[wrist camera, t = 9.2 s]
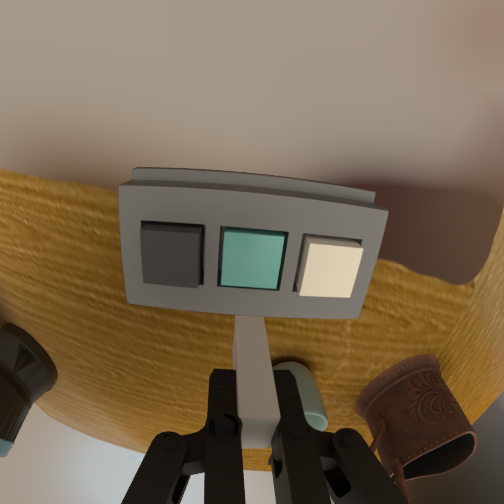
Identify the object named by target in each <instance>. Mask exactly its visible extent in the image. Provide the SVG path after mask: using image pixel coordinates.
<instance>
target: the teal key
mask: <svg viewBox="0 0 504 504" xmlns="http://www.w3.org/2000/svg"><path fill="white" fill-rule="evenodd" d="M283 244H284V235H283V232H282V231H276V230H265V229H253V228H242V227H230V226H226V227H225V233H224V247H223V262H222V278H221V285H230V286H243V287H257V288H272V289H276V287H277V281H278V275H279V269H280V263H281V256H282V250H283Z"/></svg>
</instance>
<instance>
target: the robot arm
mask: <svg viewBox="0 0 504 504" xmlns="http://www.w3.org/2000/svg"><path fill="white" fill-rule="evenodd" d="M232 354H233V370H232V369H214V370H213V372H212V373H211V375H210V378H209V395H208V413H207V420H206V423H205V426H204V427H203V428H202V429H201V430H200V431H198V432H196V433H192V434H187V435H180V434H178V433H176V432H170V431H167V432H162V433H160V434H158V435H156V437H155V438H154V439H153V441H152V443H151V445H150V447H149V449H148V451H147V453H146V455H145V457H144V459H143V461H142V463H141V465H140V467H139V469H138V471H137V473H136V475H135V477H134V479H133V481H132V483H131V485H130V487H129V489H128V491H127V493H126V495H125V497H124V499H123V501H122V503H121V504H180V502H181V500H182V497H183V495H184V492H185V489H186V486H187V484H188V481H189V478H190V476H191V475H193V474H198V473H203V472H205V480H204V504H245V490H244V474H243V459H242V448H269V447H270V445H271V446H272V454H271V456H270V458H269V461H268V465H271V466H272V474H273V482H274V490H275V497H276V504H331V500H330V496H331V498H332V500H333V502H334V503H335V504H409V503H408V501H407V500H406V498H405V497H404V496H403V494H402V493H401V491H400V490H399V489H398V487H397V486H396V484H395V483H394V482H393V480H392V479H391V477H390V476H389V474H388V473H387V472H386V470H385V469H384V467H383V466H382V465H381V463H380V462H379V460H378V459H377V457H376V456H375V455H374V453H373V452H372V450H371V449H370V447H369V446H368V445H367V443H366V442H365V440H364V439H363V437H362V436H361V435H360V434H359V433H358V432H357V431H356V430H354V429H351V428H343V429H340V430H338V431H336V432H335V433H331V432H324V431H320V430H317V429H315V428H313V427H312V426H310V425H309V424H308V422H307V420H306V418H305V414H304V410H303V406H302V402H301V398H300V394H299V390H298V387H297V382H296V378H295V376H294V375H293V374H292V372H291V371H290V370H272V365H271V359H270V353H269V347H268V341H267V336H266V330H265V324H264V318H263V317H260V316H239V315H236V317H235V328H234V340H233V351H232ZM56 380H57V372H56V369H55V366H54V364H53V363H52V361H51V359H50V358H49V356H48V355H47V354H46V352H45V351H44V350H43V349H42V347H41V346H40V345H39V344H38V343H37V342H36V341H35V340H34V339H33V338H32V337H31V336H30V335H28V334H27V333H26V332H25V331H23V330H22V329H20V328H18V327H17V326H15V325H12V324H4V325H3V326H2V327H1V328H0V457H5V456H7V454H8V452H9V451H10V449H11V447H12V446H13V445H14V441H15V439H16V437H17V434H18V432H19V430H20V428H21V426H22V424H23V422H24V420H25V418H26V416H27V414H28V412H29V410H30V408H31V406H32V404H33V403H34V402H35V401H36V400H38V399H39V398H40V397H41V396H42V395H43V394H44V393H45V392H47V391H49V390H51V389H52V387H53V386H54V384H55V382H56ZM329 495H330V496H329Z"/></svg>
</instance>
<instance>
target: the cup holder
mask: <svg viewBox="0 0 504 504" xmlns="http://www.w3.org/2000/svg"><path fill="white" fill-rule="evenodd" d="M355 411H356V413H357V414H358V415H359V416H361V417H363V418H364V420H365V421H366V422H367V423H368V426H369V428H370V431H371V434H372V436H373V439H374V440H373V442H372V444H371V446H370V449H371V450H372V452H373V453H374V452H375V450H376V448H377V450H378V453H379V456H380V459H381V462H382V465H383V467H384V469H385V470H386V472H387V473H388V474H389V476H390V477H391V479H392V480H393V482H394V483H395V484H396V486H397V487H398V489H399V490H400V491H401V493H402V494H403V496H404V497H405V498H406V500H407V501H408V503H409V504H411V496H410V493H409V490H408V486H407V484H406V481H407V480H410V479H415V478H419V477H425V476H432V475H438V474H443V473H446V472H448V471H451V470H453V469H455V468H457V467H458V466H460V465H461V464H462V463H464V462H465V461H466V460H467V459H468V458H470V457H471V456H472V454H473V453H474V451H475V449H476V446H477V436H476V433H475V431H474V430H473V428H472V426H471V424H470V423H469V421H468V419H467V417H466V416H465V414H464V412H463V411H462V409H461V407H460V406H459V404H458V402H457V401H456V399H455V398H454V396H453V394H452V393H451V391H450V390H449V388H448V387H447V385H446V383H445V382H444V380H443V379H442V377H441V373H440V365H439V360H438V359H437V358H436V357H435V356H433V355H429V354H425V355H417V356H414V357H411V358H408V359H405V360H403V361H401V362H399V363H397V364H395V365H393V366H392V367H390V368H389V369H387V370H385V371H384V372H382V373H381V374H380V375H378V376H377V377H376V378H375V379H373V380H372V381H371V382H370V383H369V384H368V385H367V386H366V387H365V388H364V389H363V390H362V392H361V393H360V395H359V396H358V398H357V400H356V403H355Z"/></svg>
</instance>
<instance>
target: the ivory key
mask: <svg viewBox="0 0 504 504" xmlns="http://www.w3.org/2000/svg"><path fill="white" fill-rule="evenodd" d="M362 253H363V248H362V247H361V246H360V245H359V244H358V243H357V242H356V241H355V240H354V239H353V238H345V237H336V236H326V235H317V234H307V233H303V235H302V241H301V247H300V252H299V258H298V263H297V269H296V274H295V279H294V282H295V284H296V287H297V290H298V293H299V296H316V297H343V298H350V296H351V292H352V289H353V286H354V282H355V279H356V275H357V272H358V268H359V264H360V261H361V257H362Z"/></svg>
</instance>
